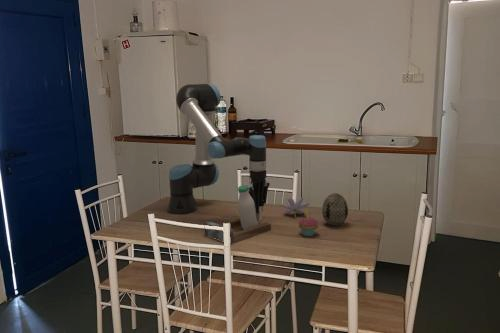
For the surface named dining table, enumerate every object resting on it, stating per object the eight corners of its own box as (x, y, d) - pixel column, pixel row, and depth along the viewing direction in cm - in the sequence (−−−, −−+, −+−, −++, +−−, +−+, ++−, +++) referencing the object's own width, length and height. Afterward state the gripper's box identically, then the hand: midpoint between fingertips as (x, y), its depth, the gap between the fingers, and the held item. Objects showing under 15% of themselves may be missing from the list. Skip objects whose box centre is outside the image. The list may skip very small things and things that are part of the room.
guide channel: (204, 235, 196) (204, 222, 195) (246, 222, 213) (246, 210, 212) (229, 244, 185) (228, 230, 184) (270, 229, 202) (270, 217, 201)
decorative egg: (317, 225, 207) (317, 194, 204) (330, 219, 215) (331, 189, 212) (339, 231, 199) (340, 198, 196) (352, 224, 208) (353, 193, 205)
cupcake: (295, 232, 198) (295, 206, 196) (312, 230, 201) (312, 204, 199) (304, 239, 190) (304, 211, 188) (322, 236, 193) (322, 209, 191)
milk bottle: (257, 230, 200) (249, 190, 193) (240, 231, 202) (232, 191, 195) (259, 222, 207) (252, 182, 200) (243, 223, 209) (236, 184, 202)
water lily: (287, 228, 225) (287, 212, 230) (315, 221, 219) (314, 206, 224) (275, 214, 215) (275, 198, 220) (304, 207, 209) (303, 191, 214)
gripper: (253, 173, 196) (254, 224, 200) (273, 168, 205) (274, 218, 209) (241, 170, 201) (243, 221, 206) (262, 166, 210) (262, 214, 215)
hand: (258, 219), depth 207 cm, fingers closed
